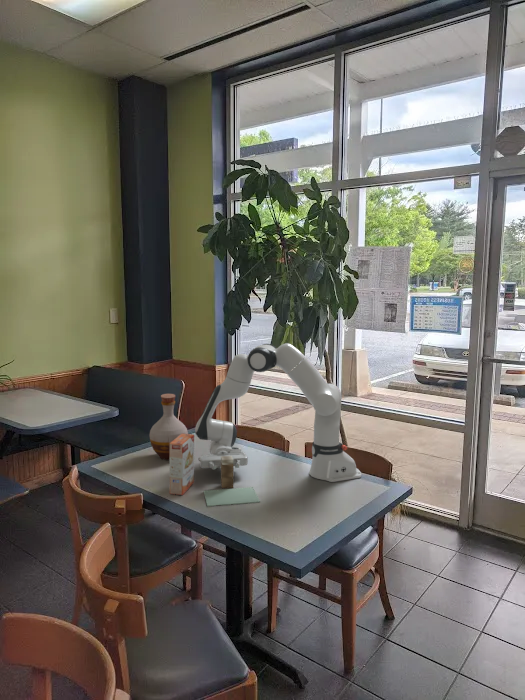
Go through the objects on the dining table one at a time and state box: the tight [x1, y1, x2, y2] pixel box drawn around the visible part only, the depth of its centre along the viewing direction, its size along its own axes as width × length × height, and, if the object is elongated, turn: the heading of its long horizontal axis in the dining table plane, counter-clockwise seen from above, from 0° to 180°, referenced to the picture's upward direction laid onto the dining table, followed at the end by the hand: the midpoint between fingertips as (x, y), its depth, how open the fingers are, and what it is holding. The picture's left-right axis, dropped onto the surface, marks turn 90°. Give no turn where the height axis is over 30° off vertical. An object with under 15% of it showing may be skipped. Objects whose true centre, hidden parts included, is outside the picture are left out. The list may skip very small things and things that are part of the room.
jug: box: [149, 393, 189, 461], centre depth 248 cm, size 20×18×30 cm
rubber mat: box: [203, 486, 261, 507], centre depth 204 cm, size 20×14×1 cm
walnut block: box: [220, 456, 234, 489], centre depth 214 cm, size 4×4×12 cm
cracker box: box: [169, 433, 195, 496], centre depth 210 cm, size 14×6×21 cm, turn 168°
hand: (226, 466), depth 217 cm, fingers open, 8 cm apart
